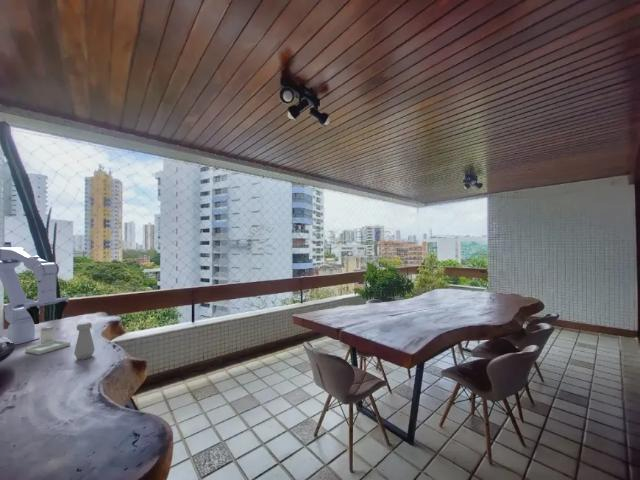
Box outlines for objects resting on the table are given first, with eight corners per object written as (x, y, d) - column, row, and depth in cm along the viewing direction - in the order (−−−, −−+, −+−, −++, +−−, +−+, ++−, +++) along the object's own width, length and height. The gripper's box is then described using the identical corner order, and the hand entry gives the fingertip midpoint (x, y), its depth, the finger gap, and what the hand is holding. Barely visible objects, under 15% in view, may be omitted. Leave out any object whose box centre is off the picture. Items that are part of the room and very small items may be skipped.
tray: (25, 351, 111) (25, 348, 111) (56, 343, 120) (56, 339, 120) (39, 354, 107) (39, 351, 107) (70, 345, 117) (70, 342, 117)
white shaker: (38, 344, 119) (38, 328, 119) (51, 340, 124) (51, 325, 124) (44, 345, 118) (44, 329, 118) (57, 341, 122) (57, 326, 122)
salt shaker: (85, 360, 100) (84, 325, 101) (70, 361, 100) (69, 325, 101) (98, 354, 106) (98, 320, 106) (84, 354, 106) (83, 320, 106)
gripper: (29, 293, 113) (30, 326, 112) (72, 287, 126) (73, 317, 126) (20, 293, 115) (21, 325, 115) (63, 287, 129) (64, 316, 129)
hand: (47, 321), depth 121 cm, fingers open, 7 cm apart
